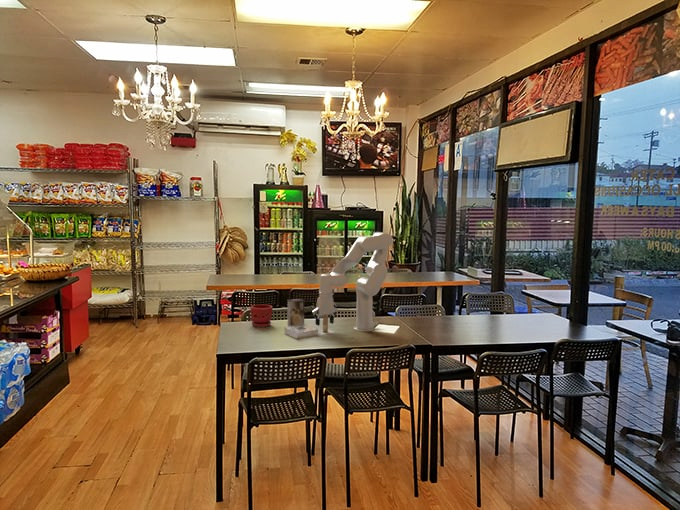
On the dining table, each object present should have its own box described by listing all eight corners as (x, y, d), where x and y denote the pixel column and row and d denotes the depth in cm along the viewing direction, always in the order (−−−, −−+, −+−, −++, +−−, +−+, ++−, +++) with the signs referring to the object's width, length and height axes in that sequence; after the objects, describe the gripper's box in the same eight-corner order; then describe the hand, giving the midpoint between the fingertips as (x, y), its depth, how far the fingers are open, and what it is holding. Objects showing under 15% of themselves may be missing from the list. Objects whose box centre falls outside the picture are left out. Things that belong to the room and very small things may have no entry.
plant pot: (274, 327, 283) (274, 307, 282) (252, 328, 278) (253, 308, 277) (269, 321, 295) (269, 303, 294) (248, 323, 290) (248, 304, 289)
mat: (326, 329, 281) (326, 328, 281) (336, 332, 273) (336, 332, 273) (312, 331, 275) (312, 330, 275) (321, 335, 267) (321, 334, 267)
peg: (325, 330, 275) (326, 315, 274) (328, 332, 273) (329, 316, 272) (321, 331, 274) (321, 315, 273) (324, 332, 271) (324, 316, 270)
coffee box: (301, 324, 292) (301, 298, 290) (304, 326, 286) (304, 300, 284) (287, 325, 288) (287, 299, 286) (289, 327, 282) (290, 301, 281)
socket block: (305, 329, 278) (305, 324, 278) (317, 335, 267) (318, 329, 266) (284, 333, 270) (284, 327, 270) (296, 339, 259) (296, 333, 258)
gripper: (334, 293, 279) (333, 321, 281) (309, 295, 269) (308, 324, 271) (341, 295, 273) (340, 324, 275) (316, 297, 263) (315, 327, 265)
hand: (324, 324), depth 273 cm, fingers open, 9 cm apart
